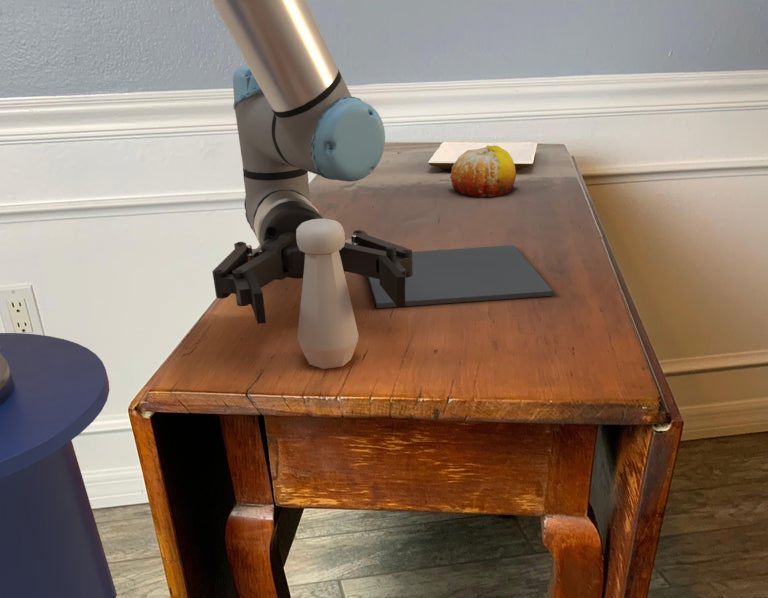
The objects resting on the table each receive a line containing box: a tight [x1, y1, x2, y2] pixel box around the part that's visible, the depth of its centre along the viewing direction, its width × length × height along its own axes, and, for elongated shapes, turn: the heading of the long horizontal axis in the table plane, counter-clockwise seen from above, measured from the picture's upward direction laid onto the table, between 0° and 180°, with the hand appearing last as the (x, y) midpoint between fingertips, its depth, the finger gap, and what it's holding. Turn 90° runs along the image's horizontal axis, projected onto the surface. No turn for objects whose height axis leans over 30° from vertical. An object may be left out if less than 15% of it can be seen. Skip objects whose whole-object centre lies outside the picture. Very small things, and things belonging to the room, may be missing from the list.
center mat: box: [366, 244, 554, 309], centre depth 96 cm, size 20×18×1 cm
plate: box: [427, 141, 538, 171], centre depth 148 cm, size 19×19×2 cm
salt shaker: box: [296, 218, 360, 370], centre depth 73 cm, size 6×6×13 cm
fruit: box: [450, 146, 517, 198], centre depth 130 cm, size 11×10×8 cm
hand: (331, 300), depth 70 cm, fingers open, 12 cm apart
